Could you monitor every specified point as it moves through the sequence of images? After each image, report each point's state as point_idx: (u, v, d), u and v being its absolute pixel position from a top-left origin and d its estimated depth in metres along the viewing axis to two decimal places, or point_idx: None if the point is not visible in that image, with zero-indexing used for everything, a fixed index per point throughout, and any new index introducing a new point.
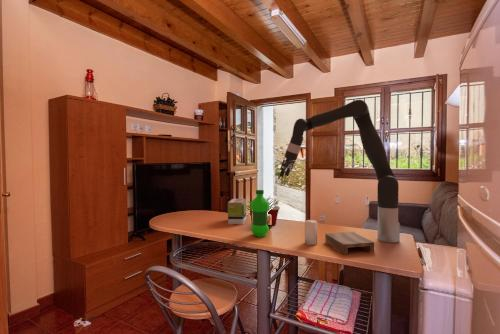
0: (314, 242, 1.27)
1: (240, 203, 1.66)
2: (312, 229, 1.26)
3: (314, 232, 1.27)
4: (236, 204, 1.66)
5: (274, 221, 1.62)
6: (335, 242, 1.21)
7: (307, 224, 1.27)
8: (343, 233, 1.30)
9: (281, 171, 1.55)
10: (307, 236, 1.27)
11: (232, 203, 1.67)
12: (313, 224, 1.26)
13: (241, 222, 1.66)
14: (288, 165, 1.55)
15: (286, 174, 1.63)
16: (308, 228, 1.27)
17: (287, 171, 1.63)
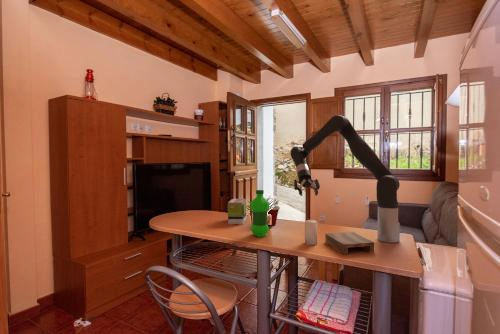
0: (314, 242, 1.27)
1: (240, 203, 1.66)
2: (312, 229, 1.26)
3: (314, 232, 1.27)
4: (236, 204, 1.66)
5: (274, 221, 1.62)
6: (335, 242, 1.21)
7: (307, 224, 1.27)
8: (343, 233, 1.30)
9: None
10: (307, 236, 1.27)
11: (232, 203, 1.67)
12: (313, 224, 1.26)
13: (241, 222, 1.66)
14: (301, 182, 1.48)
15: (315, 193, 1.45)
16: (308, 228, 1.27)
17: (314, 190, 1.46)
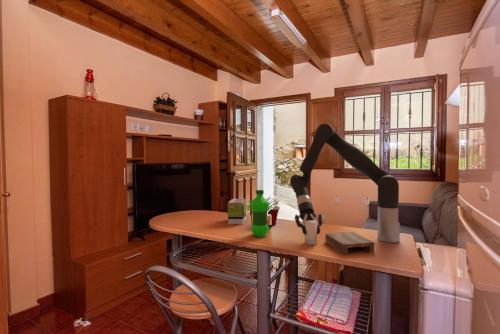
0: (314, 242, 1.27)
1: (240, 203, 1.66)
2: (312, 229, 1.26)
3: (314, 232, 1.27)
4: (236, 204, 1.66)
5: (274, 221, 1.62)
6: (335, 242, 1.21)
7: (307, 224, 1.27)
8: (343, 233, 1.30)
9: None
10: (307, 236, 1.27)
11: (232, 203, 1.67)
12: (313, 224, 1.26)
13: (241, 222, 1.66)
14: (304, 218, 1.32)
15: (317, 232, 1.29)
16: (308, 228, 1.27)
17: None
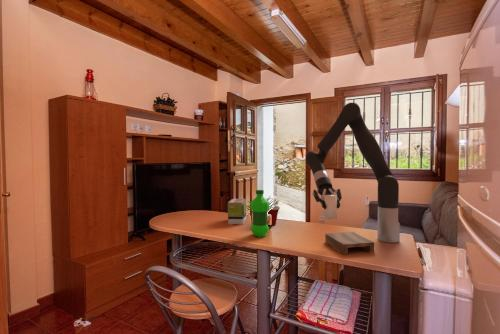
0: (334, 216, 1.23)
1: (240, 203, 1.66)
2: (332, 203, 1.23)
3: (334, 206, 1.23)
4: (236, 204, 1.66)
5: (274, 221, 1.62)
6: (335, 242, 1.21)
7: (327, 198, 1.24)
8: (343, 233, 1.30)
9: (321, 203, 1.26)
10: (327, 210, 1.24)
11: (232, 203, 1.67)
12: (333, 197, 1.23)
13: (241, 222, 1.66)
14: (322, 192, 1.28)
15: (337, 206, 1.25)
16: (328, 202, 1.23)
17: None
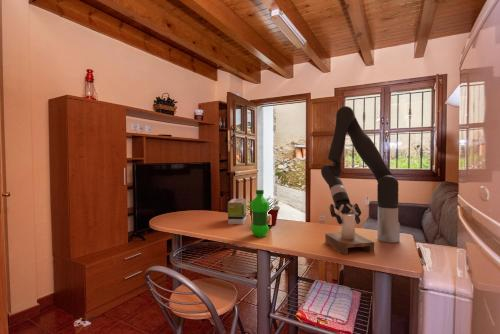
0: (352, 237, 1.21)
1: (240, 203, 1.66)
2: (350, 223, 1.20)
3: (352, 226, 1.21)
4: (236, 204, 1.66)
5: (274, 221, 1.62)
6: (335, 242, 1.21)
7: (345, 217, 1.21)
8: None
9: (336, 218, 1.24)
10: (345, 230, 1.21)
11: (232, 203, 1.67)
12: (351, 217, 1.20)
13: (241, 222, 1.66)
14: (339, 207, 1.26)
15: (357, 221, 1.23)
16: (346, 222, 1.21)
17: (355, 218, 1.24)
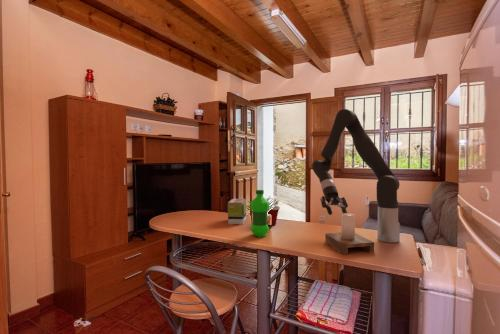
0: (352, 237, 1.21)
1: (240, 203, 1.66)
2: (350, 223, 1.20)
3: (352, 226, 1.21)
4: (236, 204, 1.66)
5: (274, 221, 1.62)
6: (335, 242, 1.21)
7: (345, 217, 1.21)
8: None
9: (327, 209, 1.36)
10: (345, 230, 1.21)
11: (232, 203, 1.67)
12: (351, 217, 1.20)
13: (241, 222, 1.66)
14: (330, 200, 1.38)
15: None
16: (346, 222, 1.21)
17: (342, 210, 1.38)
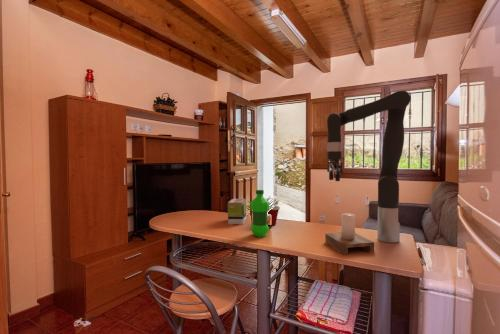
0: (352, 237, 1.21)
1: (240, 203, 1.66)
2: (350, 223, 1.20)
3: (352, 226, 1.21)
4: (236, 204, 1.66)
5: (274, 221, 1.62)
6: (335, 242, 1.21)
7: (345, 217, 1.21)
8: None
9: (337, 175, 1.36)
10: (345, 230, 1.21)
11: (232, 203, 1.67)
12: (351, 217, 1.20)
13: (241, 222, 1.66)
14: None
15: (331, 178, 1.46)
16: (346, 222, 1.21)
17: (331, 174, 1.46)
